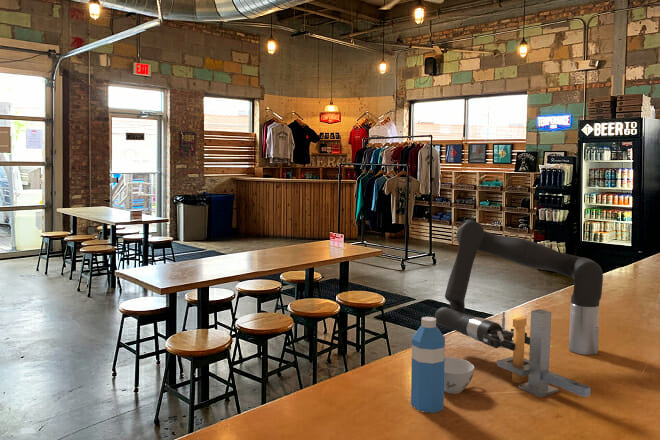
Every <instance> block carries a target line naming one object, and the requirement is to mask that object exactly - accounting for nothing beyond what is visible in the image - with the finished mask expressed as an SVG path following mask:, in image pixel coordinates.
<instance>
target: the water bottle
mask: <svg viewBox="0 0 660 440" xmlns="http://www.w3.org/2000/svg"><path fill="white" fill-rule="evenodd" d="M420 322H421V324H420V326H419V328H418V329H417V330H416V331H415V333H414V334H413V336H412V338H411V372H410V373H411V375H410V376H411V379H410V380H411V383H410V385H411V387H410V389H411V390H410V406H411V405H412V406H413V407H415V408H416V409H417V410H419V411H424V412H423V413H427V412H430V413H429V414H434V413H438V412H442V411H443V409H444V405H445V403H444V402H445V401H444V400H445V399H444V397H445V391H444V365H445V357H446V355H445V354H446V337H445V336H444V334H443V333H442V332H441V330H440V329H439V327H438V326H437V322H436V318H435V317H434V316H422V317H421V321H420ZM413 407H412V408H413ZM416 409H415V410H416ZM417 410H416V411H417ZM419 411H418V412H419Z"/></svg>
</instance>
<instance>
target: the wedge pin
mask: <svg viewBox="0 0 660 440" xmlns="http://www.w3.org/2000/svg"><path fill="white" fill-rule="evenodd" d="M527 322H528V318H527V317H524V316H520V317H516V318H513V319H512V328H513V329H514V338H513V340H514V343H515V350H514V351H512V357H513V364H514V365H516V366H519V367H521V366H524V358H525V332H526V327H527V326H528V325H527V324H528V323H527ZM511 376H512V379H511V381H512V382H513V383H515V384H523V382H524V376H521V375H518V374H516V373H514V372H512V375H511Z"/></svg>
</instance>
